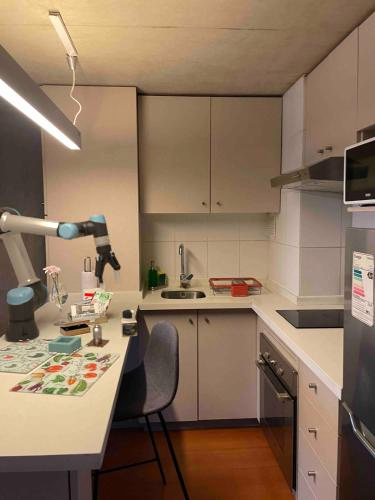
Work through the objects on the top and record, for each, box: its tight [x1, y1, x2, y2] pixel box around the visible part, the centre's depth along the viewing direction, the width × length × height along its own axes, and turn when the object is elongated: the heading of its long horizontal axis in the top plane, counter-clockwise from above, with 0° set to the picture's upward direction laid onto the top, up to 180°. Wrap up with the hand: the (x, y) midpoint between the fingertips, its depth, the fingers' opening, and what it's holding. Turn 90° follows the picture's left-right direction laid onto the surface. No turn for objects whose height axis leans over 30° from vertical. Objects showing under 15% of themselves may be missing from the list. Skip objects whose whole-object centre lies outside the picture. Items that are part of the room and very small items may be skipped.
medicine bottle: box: [120, 309, 138, 338], centre depth 182 cm, size 7×7×12 cm
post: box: [85, 324, 110, 348], centre depth 169 cm, size 8×8×9 cm
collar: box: [48, 335, 82, 354], centre depth 161 cm, size 10×10×5 cm
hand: (111, 285), depth 188 cm, fingers open, 13 cm apart
